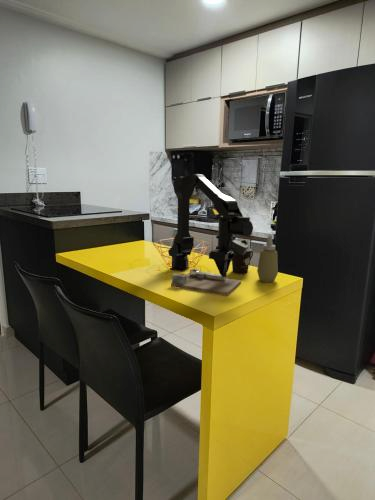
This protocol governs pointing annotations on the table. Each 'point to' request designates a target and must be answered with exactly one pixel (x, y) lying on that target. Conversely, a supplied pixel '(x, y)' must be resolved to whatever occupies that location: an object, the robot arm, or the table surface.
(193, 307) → the table surface
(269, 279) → the squeeze bottle
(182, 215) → the robot arm
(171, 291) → the table surface
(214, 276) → the lever
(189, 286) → the base
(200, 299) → the table surface
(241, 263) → the coffee mug
